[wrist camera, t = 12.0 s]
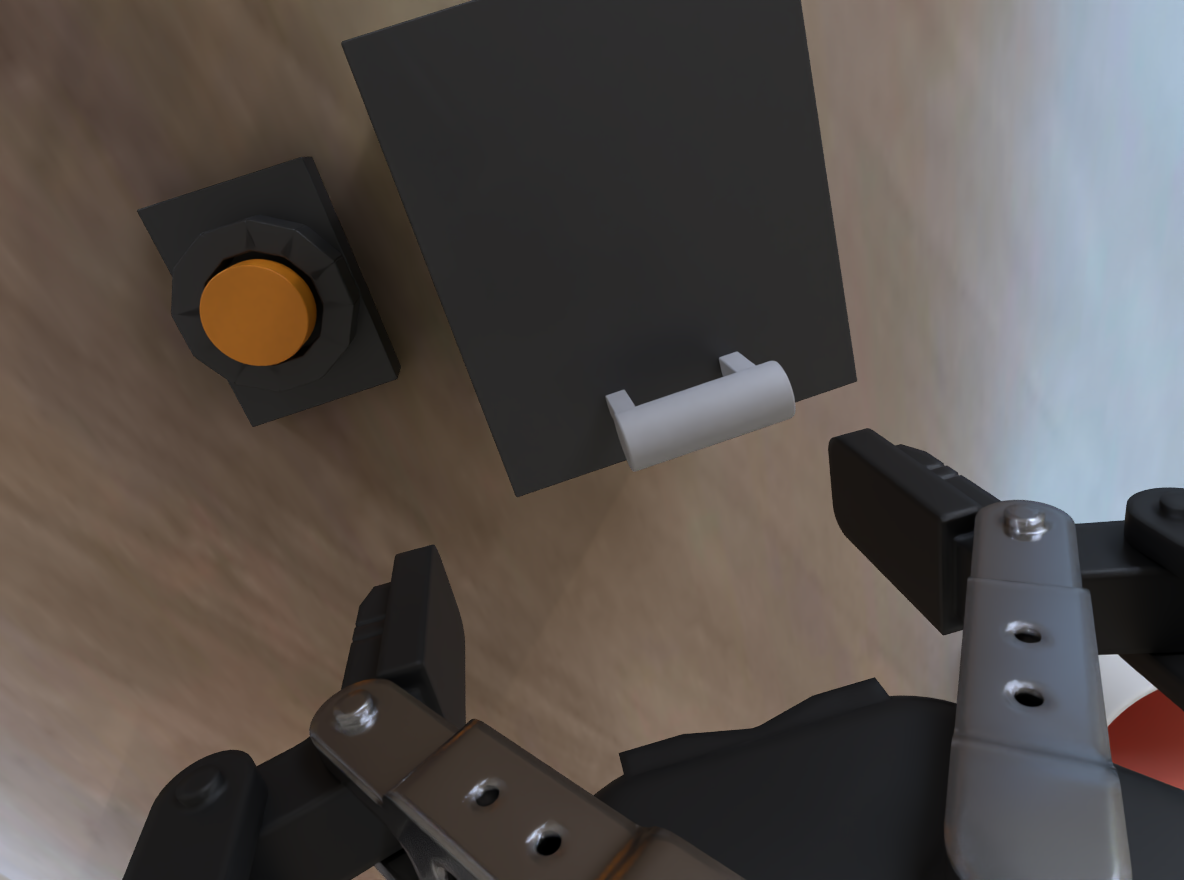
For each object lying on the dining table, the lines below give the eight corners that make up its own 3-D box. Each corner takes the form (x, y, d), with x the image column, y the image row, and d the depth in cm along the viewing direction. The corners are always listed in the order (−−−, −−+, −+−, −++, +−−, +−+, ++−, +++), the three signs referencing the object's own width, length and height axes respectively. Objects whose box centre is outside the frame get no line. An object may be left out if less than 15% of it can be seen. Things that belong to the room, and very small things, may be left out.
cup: (951, 612, 47) (1069, 725, 38) (1093, 547, 47) (1245, 645, 37) (978, 716, 51) (1090, 841, 42) (1109, 657, 51) (1250, 769, 42)
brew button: (333, 337, 31) (325, 348, 29) (242, 367, 31) (229, 379, 29) (291, 245, 29) (280, 250, 27) (194, 276, 29) (178, 284, 27)
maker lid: (846, 375, 26) (927, 423, 21) (515, 488, 26) (525, 562, 21) (774, -91, 20) (865, -160, 16) (344, 45, 20) (308, 15, 15)
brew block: (401, 367, 35) (393, 392, 32) (263, 413, 35) (239, 443, 31) (311, 156, 31) (291, 157, 28) (155, 206, 31) (113, 214, 27)
